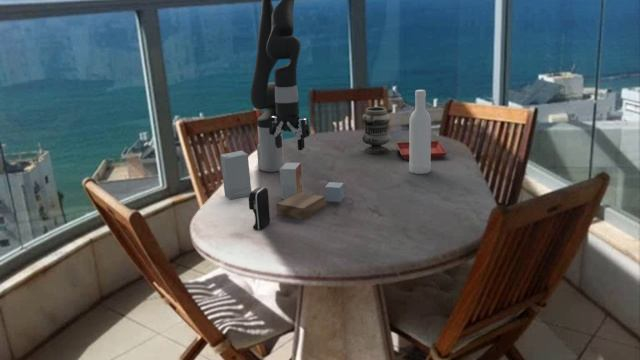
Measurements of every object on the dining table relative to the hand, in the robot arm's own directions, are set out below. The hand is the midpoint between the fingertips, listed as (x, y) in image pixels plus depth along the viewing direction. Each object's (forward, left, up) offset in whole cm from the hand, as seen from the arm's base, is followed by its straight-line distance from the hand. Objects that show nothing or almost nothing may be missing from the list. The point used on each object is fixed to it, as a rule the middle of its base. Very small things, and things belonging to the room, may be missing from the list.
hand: (290, 148), depth 200 cm
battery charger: (+7, -27, -17) cm, 32 cm away
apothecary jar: (0, +63, -17) cm, 65 cm away
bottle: (+28, +43, -16) cm, 54 cm away
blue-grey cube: (+15, +3, -16) cm, 22 cm away
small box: (0, 0, -17) cm, 17 cm away
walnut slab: (+11, -11, -17) cm, 23 cm away
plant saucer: (+19, +65, -17) cm, 70 cm away
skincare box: (-17, -8, -17) cm, 25 cm away
